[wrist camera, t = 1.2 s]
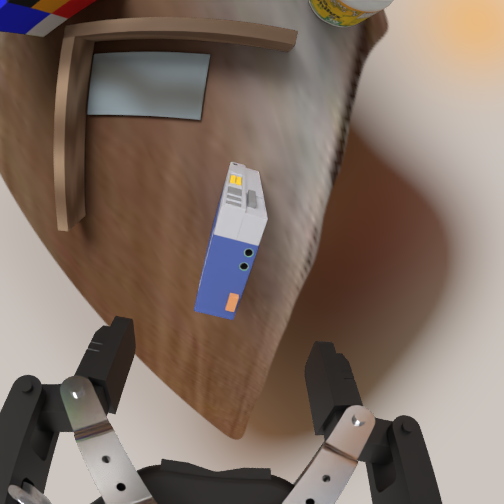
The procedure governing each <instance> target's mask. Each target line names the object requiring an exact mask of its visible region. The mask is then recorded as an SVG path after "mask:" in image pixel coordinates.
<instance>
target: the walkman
mask: <svg viewBox="0 0 504 504" xmlns="http://www.w3.org/2000/svg"><path fill="white" fill-rule="evenodd" d="M267 220H268V218H267V212H266V207H265V202H264V196H263V191H262V186H261V180H260V175H259V171H256V170H252V169H249V168H245V165H242V164H239V163H235V162H231V163H230V166H229V170H228V173H227V177H226V180H225V184H224V187H223V191H222V194H221V198H220V201H219V205H218V208H217V212H216V216H215V219H214V223H213V227H212V231H211V234H210V238H209V243H208V247H207V252H206V256H205V261H204V265H203V270H202V274H201V279H200V284H199V289H198V293H197V298H196V303H195V308H194V311H196V312H201V313H205V314H209V315H213V316H218V317H222V318H226V319H231V320H233V319H234V316H235V313H236V311H237V308H238V305H239V302H240V299H241V296H242V294H243V291H244V288H245V285H246V282H247V279H248V276H249V274H250V271H251V268H252V265H253V262H254V259H255V256H256V254H257V251H258V248H259V243H260V240H261V237H262V235H263V232H264V229H265V226H266V223H267Z"/></svg>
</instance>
